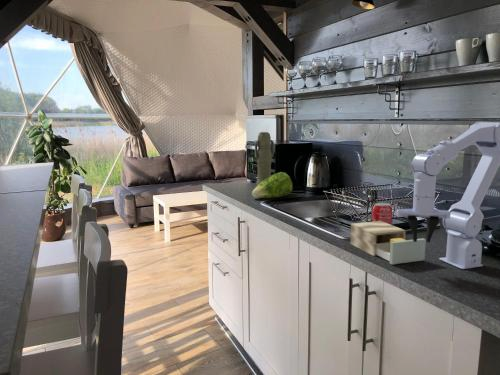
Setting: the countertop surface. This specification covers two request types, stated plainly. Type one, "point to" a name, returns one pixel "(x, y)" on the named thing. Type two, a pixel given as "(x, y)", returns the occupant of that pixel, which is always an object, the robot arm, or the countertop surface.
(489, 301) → the countertop surface
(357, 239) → the beige wooden rectangular box
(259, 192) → the lettuce
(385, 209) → the soda can
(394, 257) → the pale green drawer
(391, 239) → the block
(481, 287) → the countertop surface
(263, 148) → the thermos
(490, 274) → the countertop surface
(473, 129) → the robot arm
